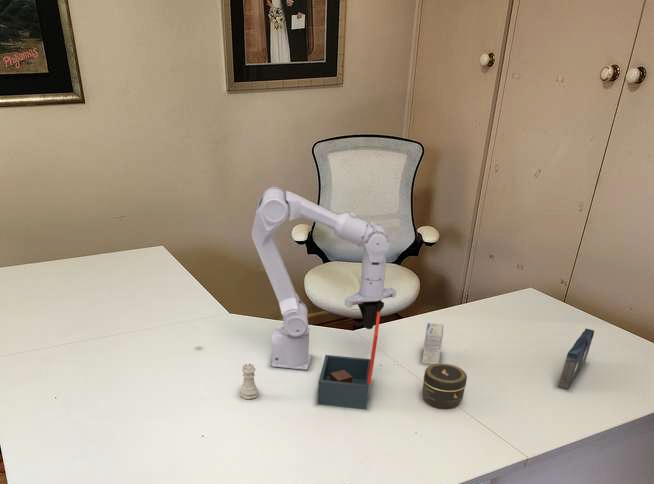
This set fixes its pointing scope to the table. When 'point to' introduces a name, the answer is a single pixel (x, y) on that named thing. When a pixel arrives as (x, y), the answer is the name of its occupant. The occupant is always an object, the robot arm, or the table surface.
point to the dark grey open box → (343, 391)
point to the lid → (374, 348)
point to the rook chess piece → (248, 383)
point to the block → (341, 376)
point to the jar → (443, 386)
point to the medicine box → (432, 343)
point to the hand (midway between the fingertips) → (368, 327)
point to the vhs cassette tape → (576, 359)
